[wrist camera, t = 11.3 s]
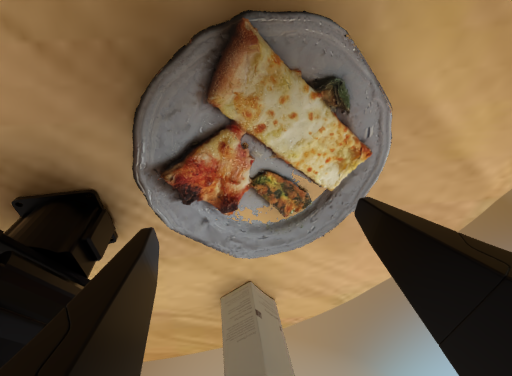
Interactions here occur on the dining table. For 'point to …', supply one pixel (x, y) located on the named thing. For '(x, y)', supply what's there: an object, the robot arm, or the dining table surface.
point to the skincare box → (253, 335)
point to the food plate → (261, 132)
